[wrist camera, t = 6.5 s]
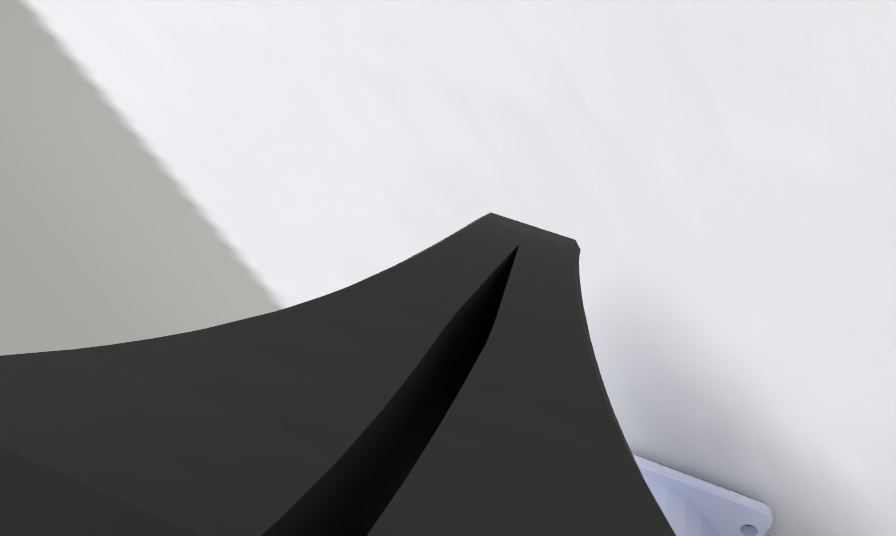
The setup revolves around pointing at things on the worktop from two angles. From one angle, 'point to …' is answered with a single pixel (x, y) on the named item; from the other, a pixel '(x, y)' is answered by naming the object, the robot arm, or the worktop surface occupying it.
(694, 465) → the worktop surface
